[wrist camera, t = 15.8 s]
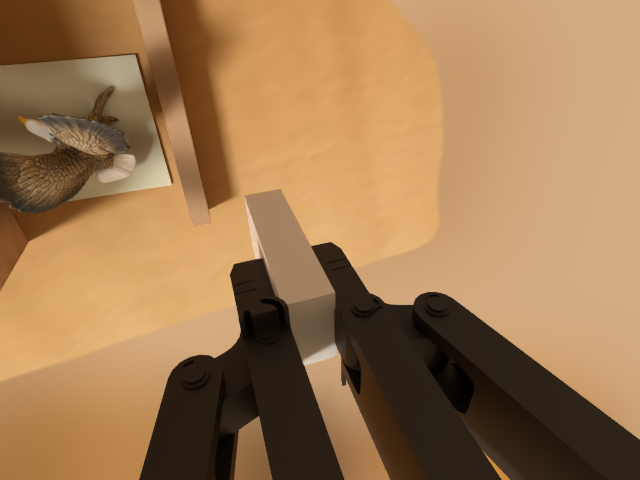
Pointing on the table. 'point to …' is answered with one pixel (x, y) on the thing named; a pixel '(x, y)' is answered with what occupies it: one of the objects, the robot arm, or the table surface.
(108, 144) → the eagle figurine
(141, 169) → the wall board
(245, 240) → the table surface
